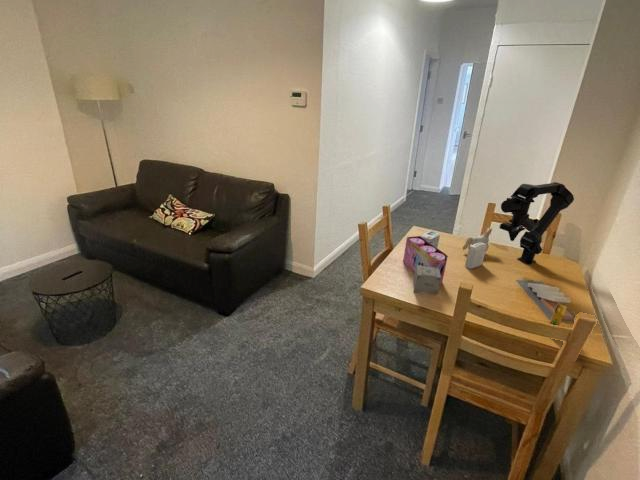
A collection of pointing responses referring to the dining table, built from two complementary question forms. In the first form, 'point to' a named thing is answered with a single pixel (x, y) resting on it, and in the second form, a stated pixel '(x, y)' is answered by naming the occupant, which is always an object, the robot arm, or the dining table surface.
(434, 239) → the light bulb box
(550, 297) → the domino
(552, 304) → the domino
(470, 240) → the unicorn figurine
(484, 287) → the dining table surface
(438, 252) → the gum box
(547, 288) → the domino
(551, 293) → the domino
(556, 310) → the crayon box
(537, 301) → the mat
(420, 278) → the grey cardboard box
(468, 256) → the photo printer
